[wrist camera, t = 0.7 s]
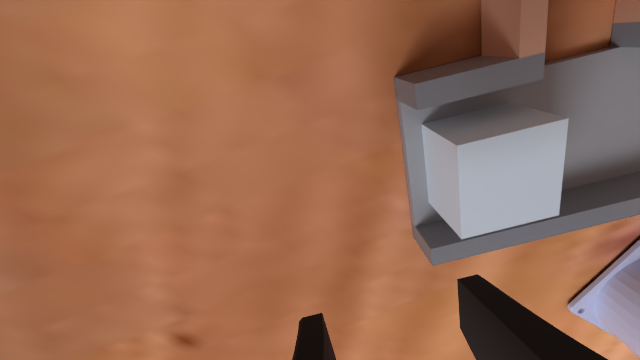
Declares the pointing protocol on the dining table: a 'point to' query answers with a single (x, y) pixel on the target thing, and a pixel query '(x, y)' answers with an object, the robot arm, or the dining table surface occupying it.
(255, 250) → the dining table surface
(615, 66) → the box
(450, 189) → the block
